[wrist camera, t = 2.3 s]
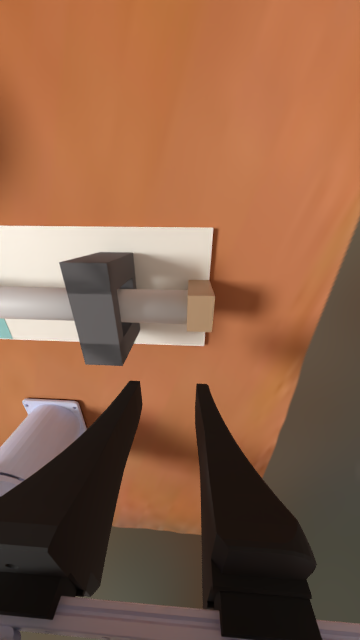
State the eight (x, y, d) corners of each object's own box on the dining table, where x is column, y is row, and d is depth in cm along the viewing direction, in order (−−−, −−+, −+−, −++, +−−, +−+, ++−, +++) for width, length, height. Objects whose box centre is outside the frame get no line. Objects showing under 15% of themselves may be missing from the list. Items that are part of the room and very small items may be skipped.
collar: (140, 330, 20) (122, 365, 15) (112, 329, 20) (85, 364, 15) (133, 252, 17) (106, 263, 12) (100, 252, 17) (59, 262, 12)
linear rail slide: (203, 344, 22) (207, 377, 17) (-60, 334, 23) (-127, 362, 18) (212, 227, 16) (222, 227, 12) (-129, 224, 18) (-248, 222, 13)
